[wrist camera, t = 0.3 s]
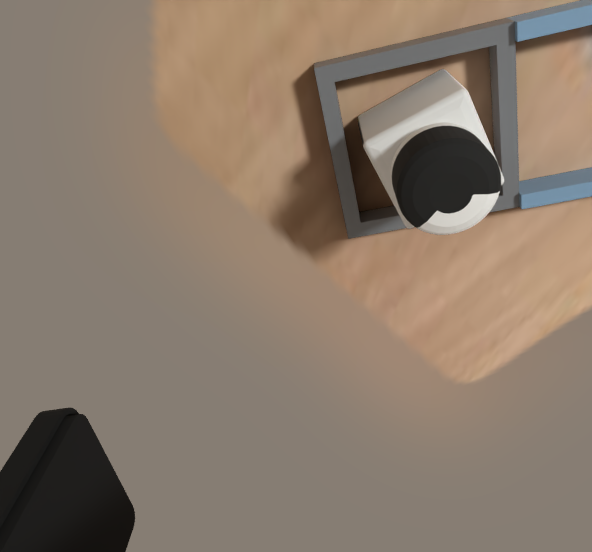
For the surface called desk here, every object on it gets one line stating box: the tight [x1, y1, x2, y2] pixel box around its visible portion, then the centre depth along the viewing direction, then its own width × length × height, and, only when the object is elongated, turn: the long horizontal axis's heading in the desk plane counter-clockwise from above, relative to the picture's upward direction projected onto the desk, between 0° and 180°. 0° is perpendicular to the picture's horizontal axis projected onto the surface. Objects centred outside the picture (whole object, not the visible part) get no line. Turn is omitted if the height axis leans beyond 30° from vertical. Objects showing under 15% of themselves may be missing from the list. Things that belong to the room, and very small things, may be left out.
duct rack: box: [314, 0, 592, 239], centre depth 40 cm, size 13×26×2 cm, turn 103°
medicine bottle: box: [357, 69, 504, 235], centre depth 37 cm, size 7×7×12 cm
